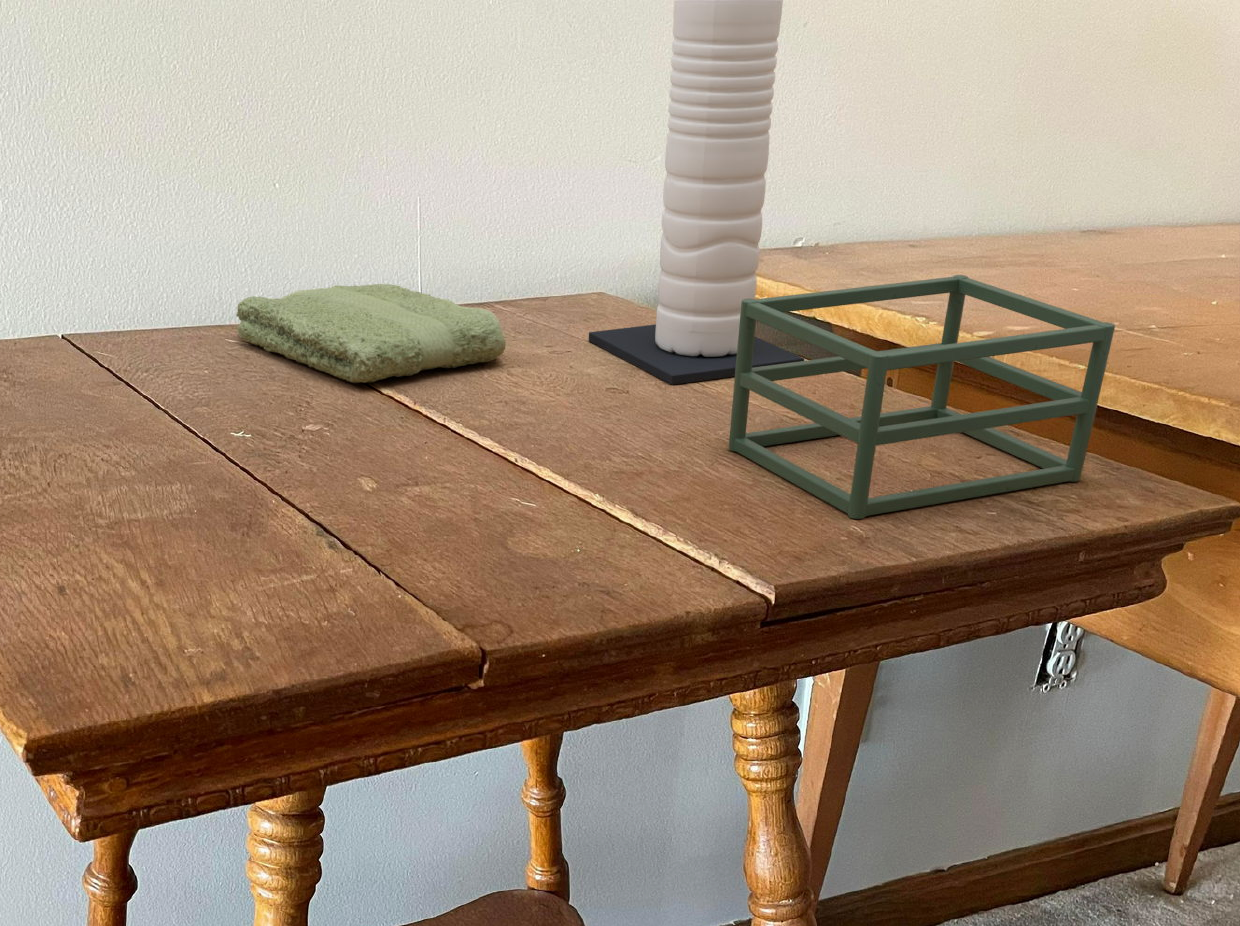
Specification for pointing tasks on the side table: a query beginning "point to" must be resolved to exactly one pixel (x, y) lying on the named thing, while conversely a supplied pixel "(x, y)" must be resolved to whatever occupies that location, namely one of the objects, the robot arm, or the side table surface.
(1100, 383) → the green open frame box
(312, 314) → the washcloth
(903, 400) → the side table surface
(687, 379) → the mat
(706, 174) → the water bottle
